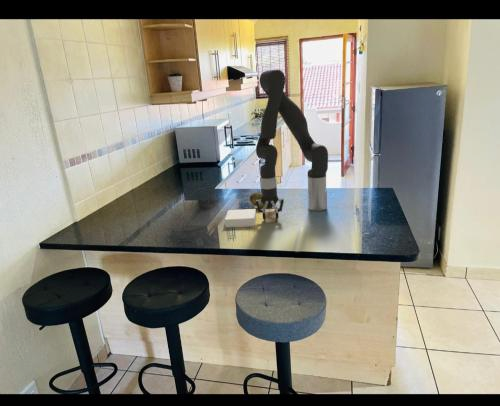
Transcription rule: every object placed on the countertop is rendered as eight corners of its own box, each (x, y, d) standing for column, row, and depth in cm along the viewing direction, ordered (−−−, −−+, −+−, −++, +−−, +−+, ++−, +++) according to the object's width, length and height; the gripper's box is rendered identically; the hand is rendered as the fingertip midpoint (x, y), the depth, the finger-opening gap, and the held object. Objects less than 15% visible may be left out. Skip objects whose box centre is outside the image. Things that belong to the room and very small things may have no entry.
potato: (267, 212, 195) (266, 197, 193) (248, 208, 203) (246, 194, 200) (276, 207, 202) (275, 192, 199) (257, 203, 209) (256, 190, 207)
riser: (256, 216, 191) (255, 208, 189) (254, 226, 178) (254, 218, 177) (228, 217, 192) (228, 210, 191) (225, 227, 180) (224, 219, 178)
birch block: (276, 218, 186) (275, 208, 184) (276, 222, 181) (275, 212, 180) (265, 218, 186) (265, 209, 185) (265, 222, 182) (265, 212, 180)
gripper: (283, 183, 181) (285, 216, 187) (254, 184, 182) (256, 217, 188) (284, 187, 174) (285, 221, 180) (253, 189, 175) (255, 223, 181)
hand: (270, 219), depth 184 cm, fingers closed on birch block, 5 cm apart
